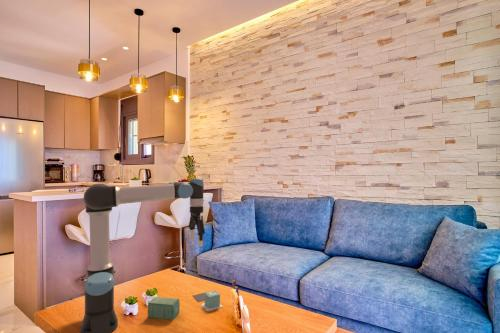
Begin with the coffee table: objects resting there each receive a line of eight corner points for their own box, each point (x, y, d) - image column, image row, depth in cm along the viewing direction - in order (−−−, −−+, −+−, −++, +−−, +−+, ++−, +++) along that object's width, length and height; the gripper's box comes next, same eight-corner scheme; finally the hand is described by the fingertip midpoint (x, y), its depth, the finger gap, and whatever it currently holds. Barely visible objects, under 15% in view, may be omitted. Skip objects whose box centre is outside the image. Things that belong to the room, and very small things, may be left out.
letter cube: (209, 308, 149) (209, 296, 149) (204, 304, 154) (204, 292, 154) (220, 305, 152) (220, 293, 152) (215, 301, 157) (215, 289, 157)
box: (173, 320, 139) (173, 304, 139) (147, 318, 141) (147, 302, 141) (179, 312, 146) (179, 297, 146) (154, 310, 148) (154, 296, 148)
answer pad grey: (206, 311, 147) (206, 310, 147) (200, 304, 154) (200, 303, 154) (222, 307, 151) (222, 306, 151) (215, 300, 159) (215, 299, 159)
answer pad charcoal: (198, 302, 157) (198, 301, 157) (192, 296, 165) (192, 295, 165) (213, 298, 162) (213, 297, 162) (207, 292, 169) (207, 292, 169)
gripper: (211, 207, 155) (210, 247, 155) (195, 203, 177) (195, 238, 176) (197, 208, 151) (197, 249, 151) (183, 203, 173) (183, 239, 173)
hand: (196, 243), depth 164 cm, fingers open, 13 cm apart
